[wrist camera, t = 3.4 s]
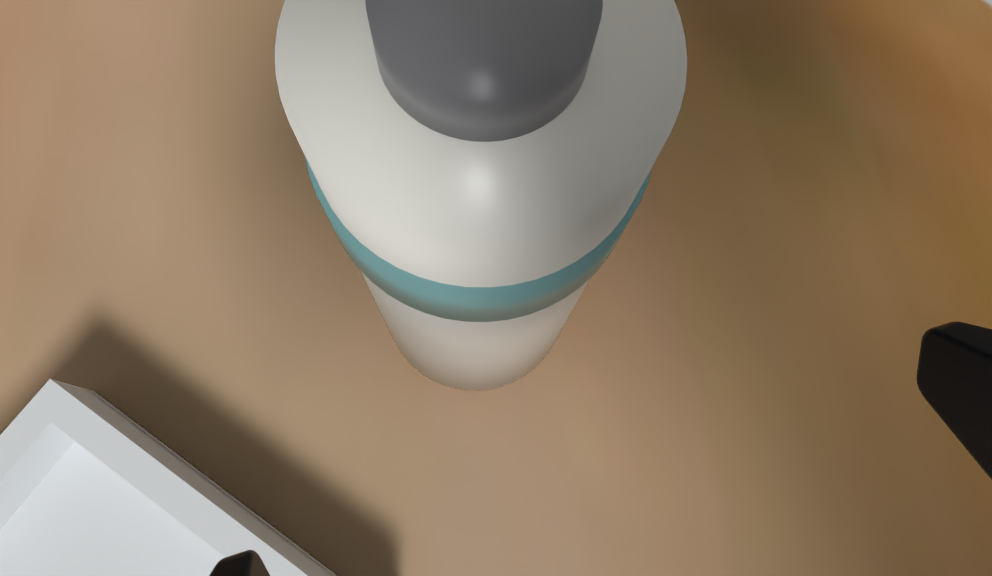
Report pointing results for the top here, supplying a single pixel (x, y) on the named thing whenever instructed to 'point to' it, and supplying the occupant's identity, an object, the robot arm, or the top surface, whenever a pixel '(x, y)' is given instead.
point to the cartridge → (479, 157)
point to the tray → (117, 500)
